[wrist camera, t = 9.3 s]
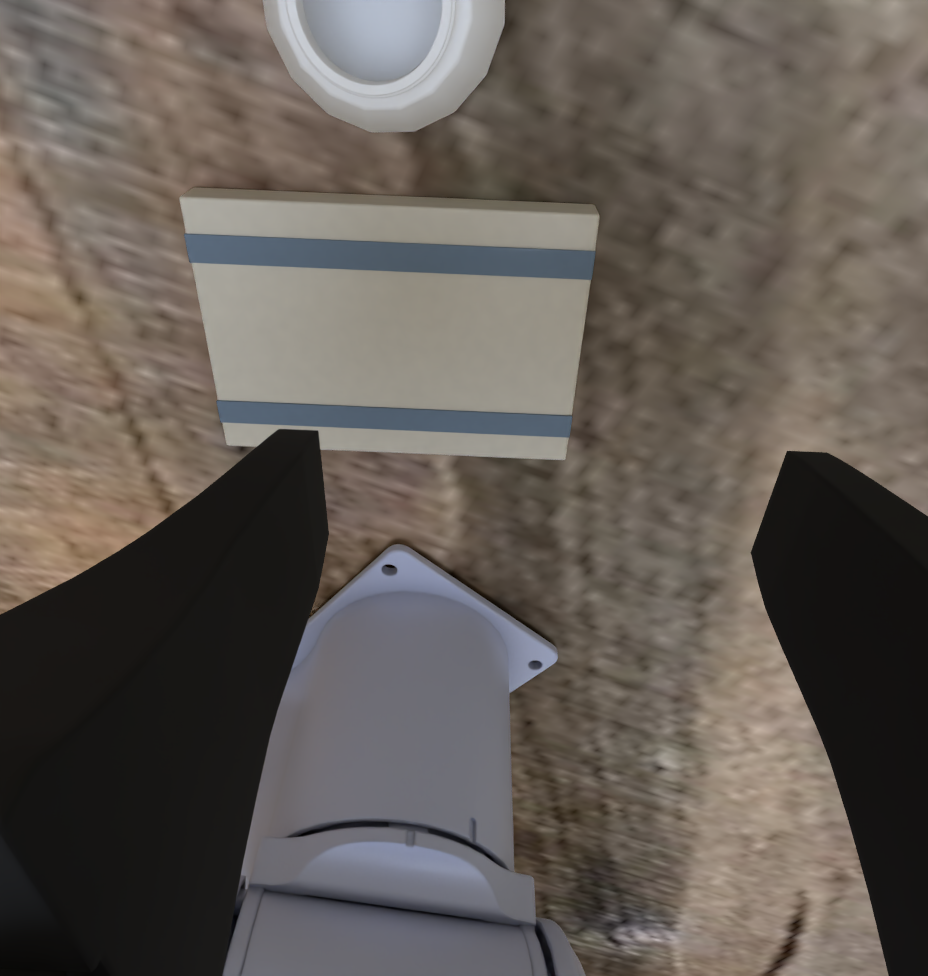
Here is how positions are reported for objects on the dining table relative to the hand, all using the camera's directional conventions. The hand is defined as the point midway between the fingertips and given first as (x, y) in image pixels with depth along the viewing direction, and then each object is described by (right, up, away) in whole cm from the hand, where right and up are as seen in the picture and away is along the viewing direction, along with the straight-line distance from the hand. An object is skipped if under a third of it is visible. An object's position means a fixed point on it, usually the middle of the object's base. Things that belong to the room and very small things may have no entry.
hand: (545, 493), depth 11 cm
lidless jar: (-3, +11, +4) cm, 12 cm away
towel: (-3, +4, +8) cm, 10 cm away
